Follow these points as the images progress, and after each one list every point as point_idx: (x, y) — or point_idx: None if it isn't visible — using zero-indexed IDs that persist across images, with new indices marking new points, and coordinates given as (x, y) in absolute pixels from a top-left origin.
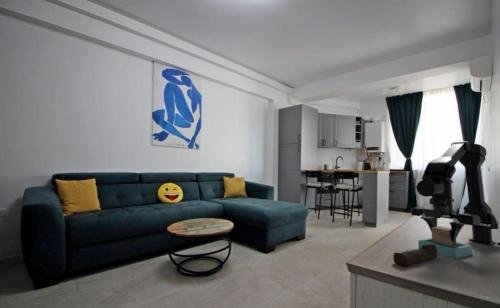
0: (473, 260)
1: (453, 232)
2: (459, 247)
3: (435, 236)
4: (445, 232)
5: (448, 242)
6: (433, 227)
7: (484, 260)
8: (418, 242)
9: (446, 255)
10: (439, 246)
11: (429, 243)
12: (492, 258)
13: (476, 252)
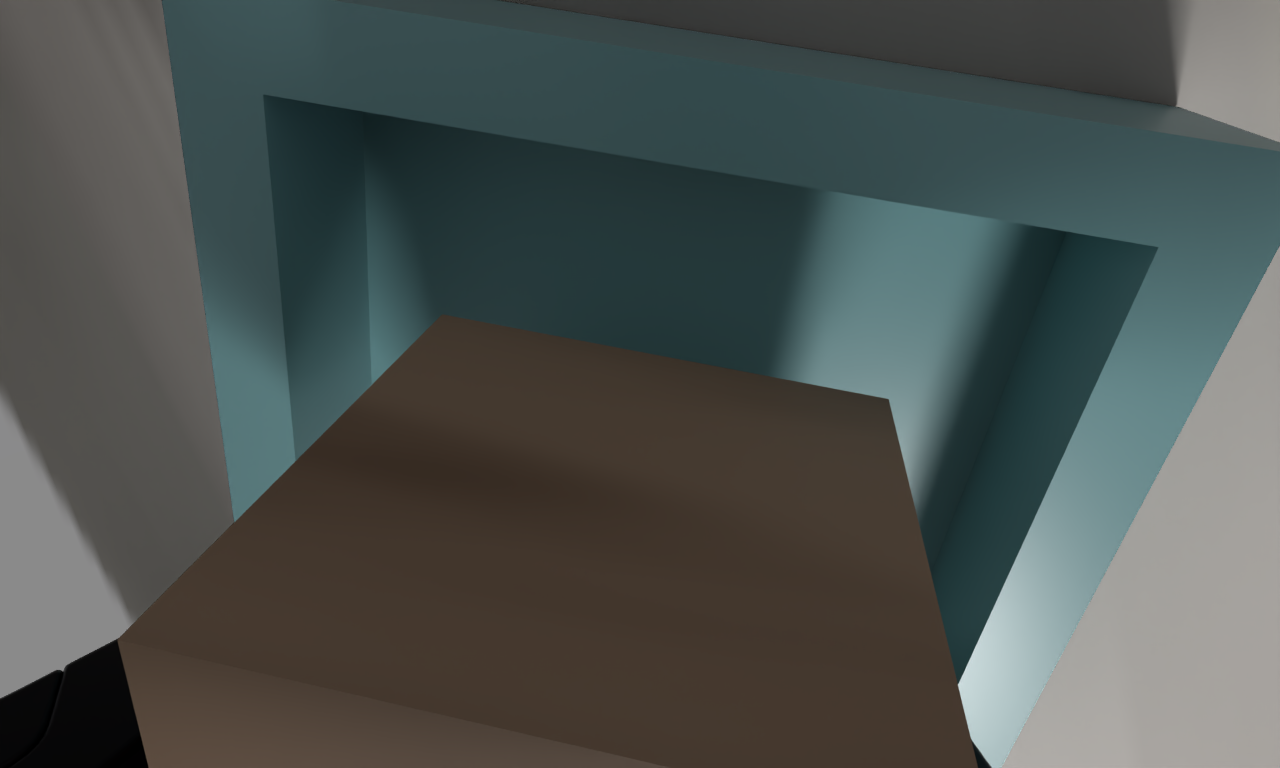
0: (162, 235)
1: (92, 691)
2: (250, 352)
3: (783, 477)
4: (317, 568)
5: (412, 347)
6: None
7: (116, 402)
8: (1273, 140)
9: (488, 1)
10: (595, 40)
11: (906, 88)
12: (147, 602)
13: None
